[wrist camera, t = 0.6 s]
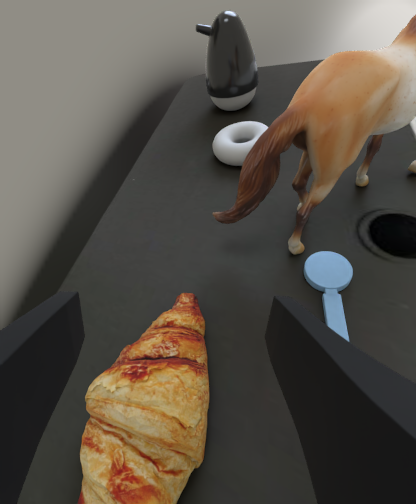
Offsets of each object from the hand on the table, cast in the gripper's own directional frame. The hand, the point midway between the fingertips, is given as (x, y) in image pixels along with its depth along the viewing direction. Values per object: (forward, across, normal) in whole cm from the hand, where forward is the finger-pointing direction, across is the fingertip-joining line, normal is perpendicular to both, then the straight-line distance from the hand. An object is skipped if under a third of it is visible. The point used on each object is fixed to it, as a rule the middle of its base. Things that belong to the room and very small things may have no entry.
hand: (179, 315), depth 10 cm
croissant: (+7, +2, +16) cm, 18 cm away
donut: (+39, -10, -3) cm, 40 cm away
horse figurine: (+26, -19, +1) cm, 32 cm away
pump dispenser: (+56, -10, -11) cm, 57 cm away
